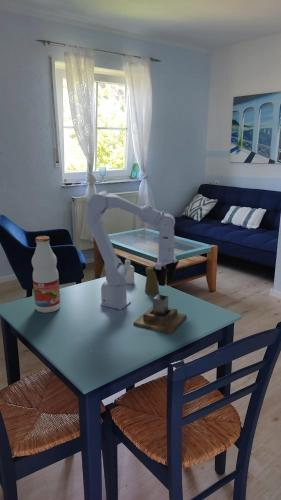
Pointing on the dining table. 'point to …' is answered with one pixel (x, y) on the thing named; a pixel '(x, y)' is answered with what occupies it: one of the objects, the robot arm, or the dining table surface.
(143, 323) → the socket holder
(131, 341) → the dining table surface
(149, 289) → the cork
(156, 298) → the metal pin
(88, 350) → the dining table surface
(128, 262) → the eye dropper bottle
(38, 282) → the fruit juice
